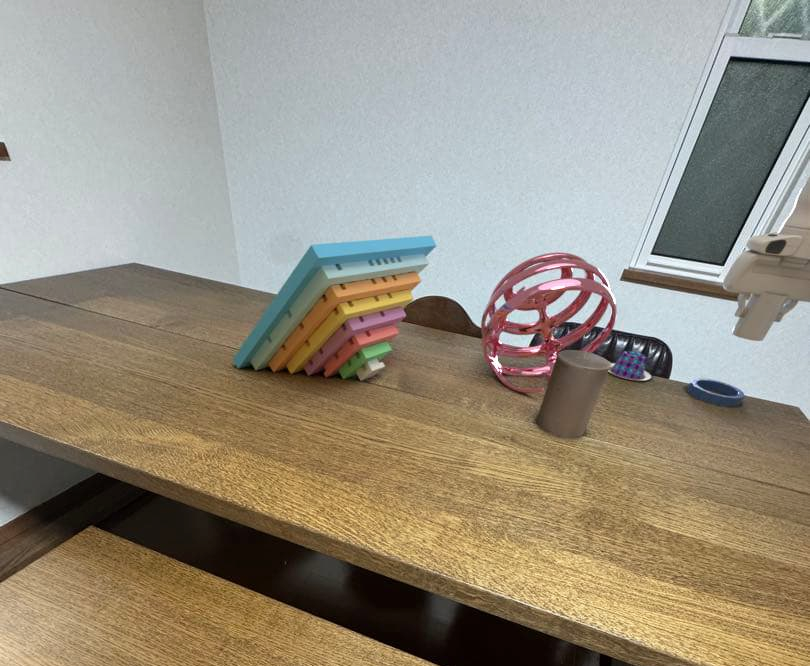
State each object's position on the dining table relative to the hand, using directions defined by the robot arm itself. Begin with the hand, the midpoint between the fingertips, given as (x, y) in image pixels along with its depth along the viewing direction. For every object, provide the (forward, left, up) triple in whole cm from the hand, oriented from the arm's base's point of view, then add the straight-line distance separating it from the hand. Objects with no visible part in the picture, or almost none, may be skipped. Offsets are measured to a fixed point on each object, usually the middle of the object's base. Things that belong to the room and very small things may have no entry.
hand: (756, 319), depth 100 cm
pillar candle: (+43, +30, -19) cm, 55 cm away
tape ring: (0, 0, -18) cm, 18 cm away
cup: (0, 0, -4) cm, 4 cm away
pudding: (+19, -9, -19) cm, 28 cm away
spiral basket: (+47, +7, -19) cm, 51 cm away
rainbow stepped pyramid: (+93, +13, -19) cm, 96 cm away
